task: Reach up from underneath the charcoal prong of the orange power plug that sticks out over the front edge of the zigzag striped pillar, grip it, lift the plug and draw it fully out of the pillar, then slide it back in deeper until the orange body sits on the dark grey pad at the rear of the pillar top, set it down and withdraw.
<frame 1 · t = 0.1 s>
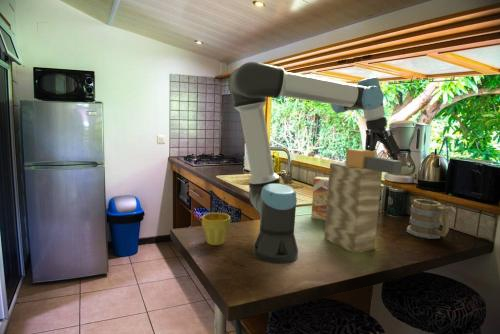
hand: (385, 169, 133), 28 cm above the kitchen counter, tool tilted 20°, fingers open, 13 cm apart
plant pot: (215, 242, 122), on the kitchen counter
tankard: (429, 237, 139), on the kitchen counter
zigzag striped pillar: (348, 243, 126), on the kitchen counter
coffeecake box: (327, 219, 158), on the kitchen counter
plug: (367, 168, 117), point 30 cm above the kitchen counter, touching zigzag striped pillar
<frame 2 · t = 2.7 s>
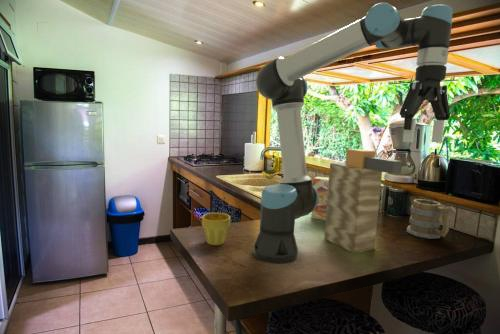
hand: (422, 142, 95), 41 cm above the kitchen counter, tool pointing down, fingers open, 13 cm apart
nothing on the kitchen counter moved.
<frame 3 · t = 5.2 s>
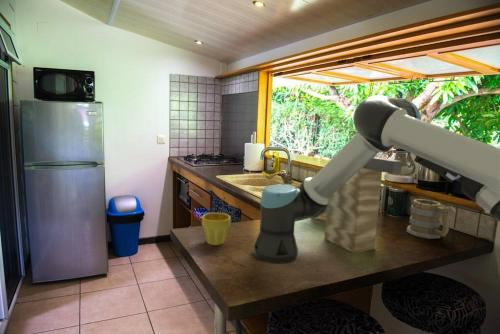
hand: (420, 140, 92), 42 cm above the kitchen counter, tool pointing upward, fingers open, 13 cm apart
nothing on the kitchen counter moved.
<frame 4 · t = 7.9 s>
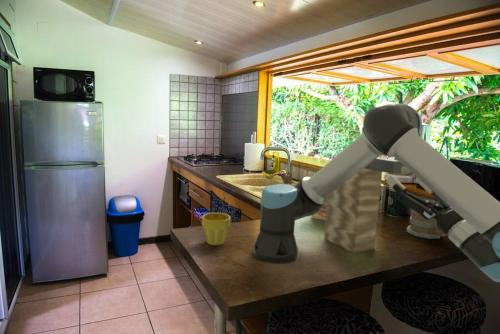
hand: (403, 177, 105), 29 cm above the kitchen counter, tool pointing upward, fingers open, 13 cm apart
nothing on the kitchen counter moved.
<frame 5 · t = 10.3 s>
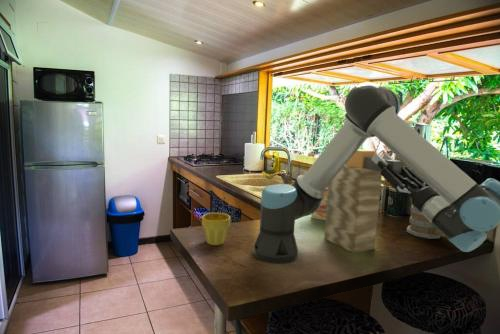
hand: (379, 156, 112), 35 cm above the kitchen counter, tool pointing upward, fingers closed on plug, 4 cm apart
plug: (367, 168, 117), point 30 cm above the kitchen counter, touching gripper, zigzag striped pillar
everything else where it was.
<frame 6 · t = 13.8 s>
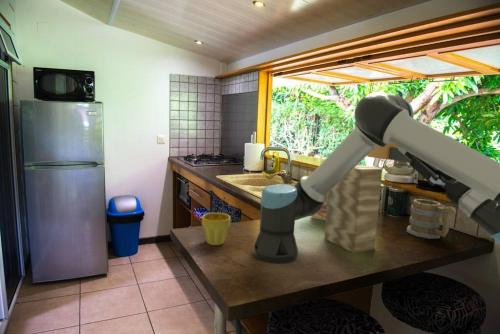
hand: (406, 146, 103), 39 cm above the kitchen counter, tool pointing upward, fingers closed on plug, 4 cm apart
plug: (392, 159, 108), point 34 cm above the kitchen counter, touching gripper
everything else where it was.
when the fingers open (36 cm above the kitchen counter, at t = 17.1 s): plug stays where it is, resting on zigzag striped pillar.
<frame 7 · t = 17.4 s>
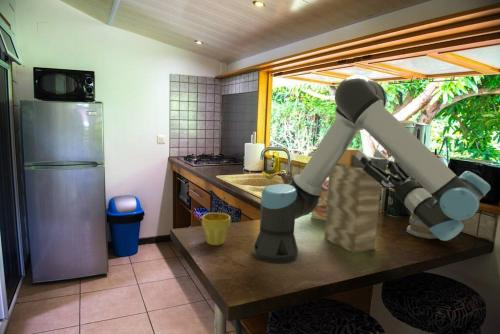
hand: (366, 152, 117), 35 cm above the kitchen counter, tool pointing upward, fingers open, 8 cm apart
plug: (355, 165, 122), point 30 cm above the kitchen counter, touching zigzag striped pillar
everything else where it was.
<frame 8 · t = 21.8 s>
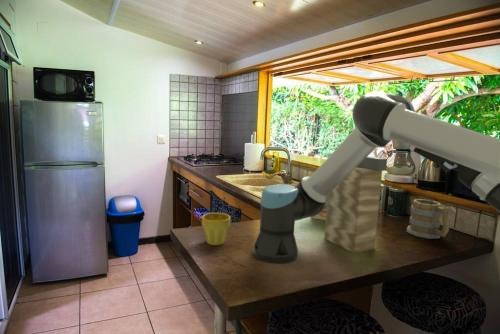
hand: (419, 132, 96), 44 cm above the kitchen counter, tool pointing upward, fingers open, 13 cm apart
nothing on the kitchen counter moved.
at the end: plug inside the target area on the zigzag striped pillar (0.1 cm from its centre), point 30.0 cm above the zigzag striped pillar's base; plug moved 5.9 cm from its start; the gripper is holding nothing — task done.
